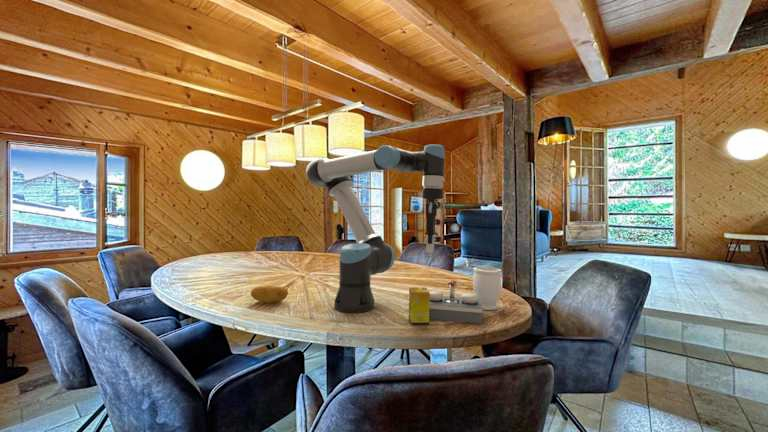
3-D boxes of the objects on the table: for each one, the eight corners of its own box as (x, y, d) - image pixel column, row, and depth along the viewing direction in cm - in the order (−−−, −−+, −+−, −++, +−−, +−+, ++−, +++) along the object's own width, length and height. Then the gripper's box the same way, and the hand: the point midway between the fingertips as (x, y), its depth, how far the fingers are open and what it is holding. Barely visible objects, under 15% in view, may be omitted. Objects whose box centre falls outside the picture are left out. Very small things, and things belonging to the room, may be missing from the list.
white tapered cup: (502, 312, 121) (503, 272, 121) (473, 310, 124) (474, 270, 123) (498, 304, 132) (499, 266, 131) (471, 302, 134) (472, 265, 133)
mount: (421, 318, 114) (422, 303, 113) (424, 307, 126) (425, 294, 125) (482, 323, 109) (482, 308, 109) (479, 312, 121) (479, 298, 121)
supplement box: (408, 318, 113) (408, 287, 112) (425, 318, 113) (426, 287, 113) (411, 325, 107) (411, 291, 106) (429, 325, 107) (430, 291, 107)
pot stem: (445, 316, 116) (446, 282, 116) (445, 312, 120) (446, 279, 120) (457, 317, 115) (458, 282, 115) (457, 313, 119) (458, 280, 119)
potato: (283, 306, 123) (283, 288, 123) (247, 305, 124) (247, 287, 124) (290, 300, 131) (290, 283, 131) (256, 299, 132) (257, 282, 132)
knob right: (461, 316, 114) (461, 296, 114) (460, 311, 120) (461, 292, 119) (477, 318, 113) (478, 298, 113) (476, 313, 119) (477, 293, 118)
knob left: (426, 313, 117) (426, 294, 116) (427, 309, 122) (427, 290, 122) (442, 315, 116) (442, 295, 115) (442, 310, 121) (443, 291, 121)
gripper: (442, 187, 113) (438, 255, 114) (444, 189, 126) (441, 250, 127) (420, 186, 115) (417, 254, 116) (424, 188, 128) (421, 249, 129)
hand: (429, 252), depth 122 cm, fingers closed
